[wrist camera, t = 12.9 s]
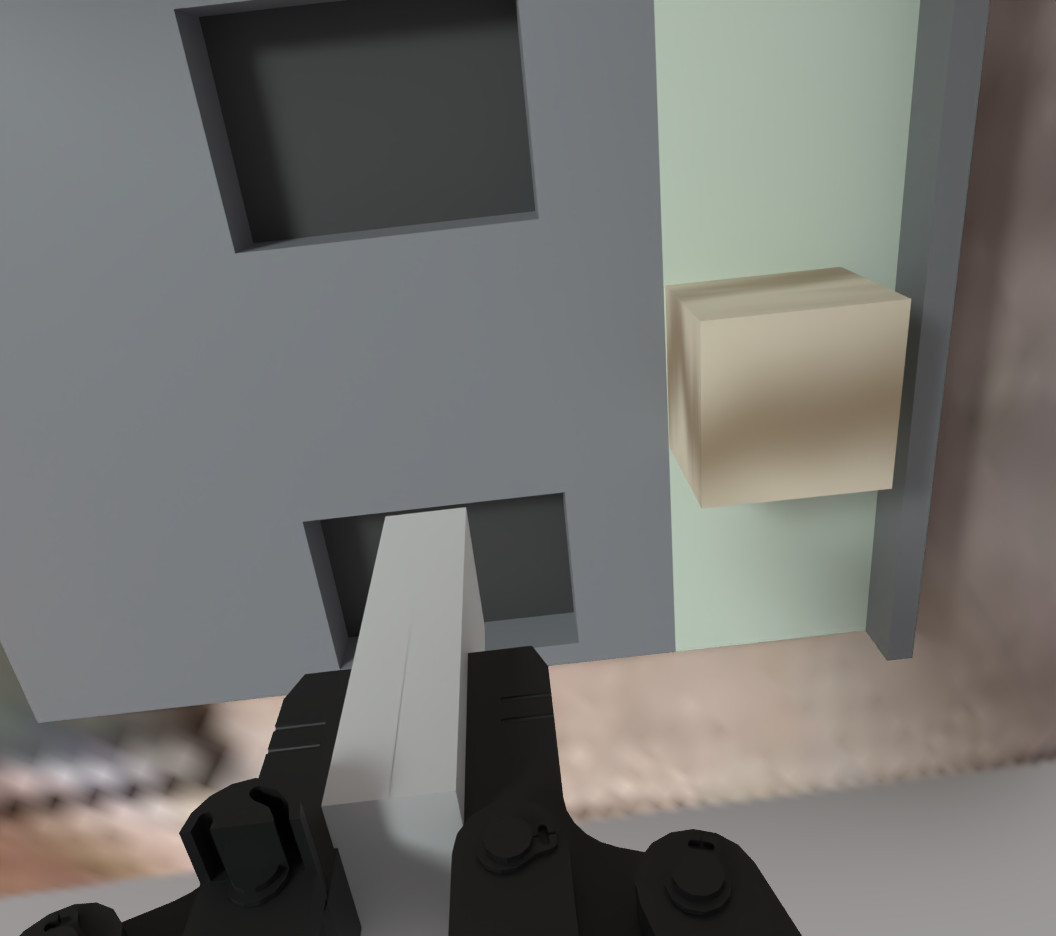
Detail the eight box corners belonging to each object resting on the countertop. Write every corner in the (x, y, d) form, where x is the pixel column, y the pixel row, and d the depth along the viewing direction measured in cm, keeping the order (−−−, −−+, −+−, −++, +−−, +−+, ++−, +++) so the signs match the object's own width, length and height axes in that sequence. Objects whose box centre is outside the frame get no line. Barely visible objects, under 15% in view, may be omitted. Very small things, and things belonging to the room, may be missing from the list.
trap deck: (-217, 28, 25) (-354, 13, 21) (922, -103, 25) (1007, -144, 21) (66, 683, 36) (12, 757, 32) (863, 594, 36) (912, 657, 32)
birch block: (665, 285, 27) (700, 321, 23) (840, 266, 27) (911, 299, 23) (669, 447, 30) (701, 508, 25) (830, 429, 30) (891, 488, 25)
